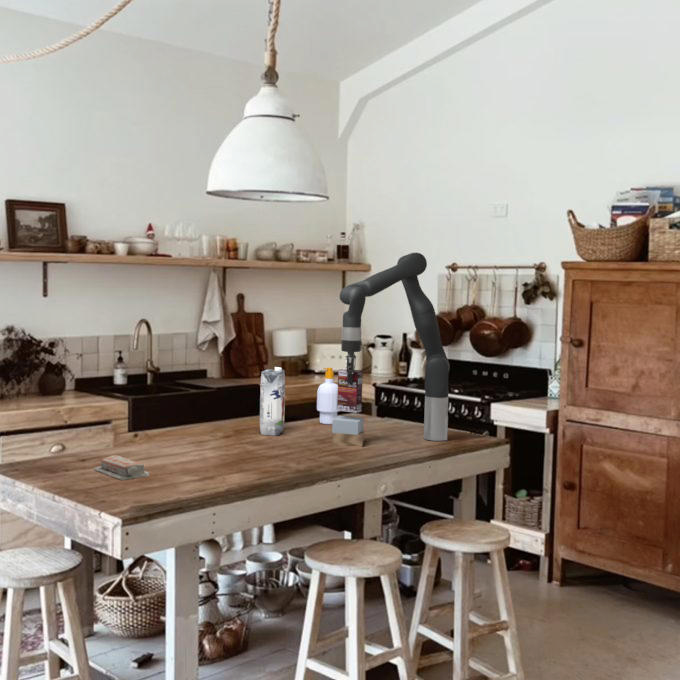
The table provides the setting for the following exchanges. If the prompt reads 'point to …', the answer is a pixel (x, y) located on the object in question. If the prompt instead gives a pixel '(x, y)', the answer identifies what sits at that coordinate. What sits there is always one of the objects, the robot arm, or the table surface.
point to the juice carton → (272, 401)
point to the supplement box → (349, 392)
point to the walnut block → (348, 439)
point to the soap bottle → (327, 398)
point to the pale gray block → (348, 425)
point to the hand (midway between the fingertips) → (350, 382)
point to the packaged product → (121, 468)
